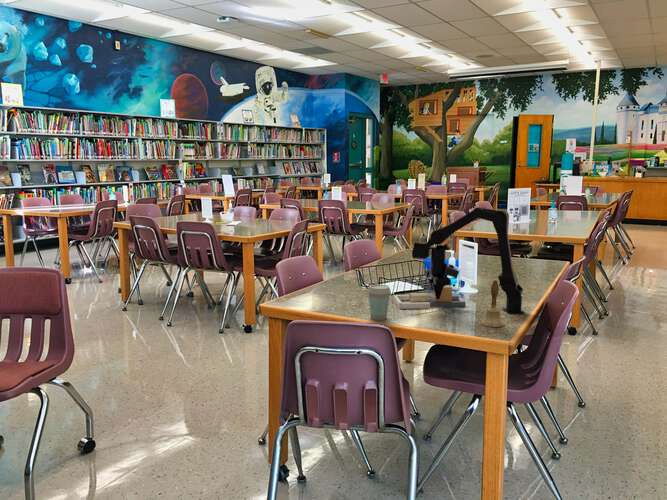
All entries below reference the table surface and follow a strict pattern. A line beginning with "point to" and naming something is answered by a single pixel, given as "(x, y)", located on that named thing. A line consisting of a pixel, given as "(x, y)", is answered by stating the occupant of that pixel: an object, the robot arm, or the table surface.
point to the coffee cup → (378, 301)
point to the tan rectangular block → (442, 295)
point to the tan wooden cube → (414, 298)
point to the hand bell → (493, 310)
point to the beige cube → (425, 297)
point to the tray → (408, 305)
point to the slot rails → (449, 303)
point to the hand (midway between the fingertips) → (437, 297)
